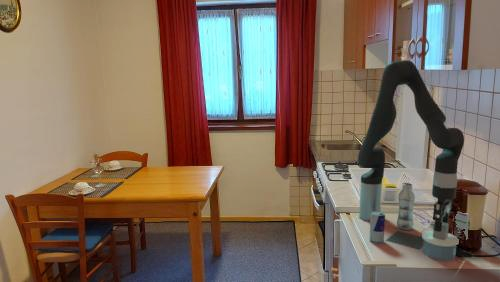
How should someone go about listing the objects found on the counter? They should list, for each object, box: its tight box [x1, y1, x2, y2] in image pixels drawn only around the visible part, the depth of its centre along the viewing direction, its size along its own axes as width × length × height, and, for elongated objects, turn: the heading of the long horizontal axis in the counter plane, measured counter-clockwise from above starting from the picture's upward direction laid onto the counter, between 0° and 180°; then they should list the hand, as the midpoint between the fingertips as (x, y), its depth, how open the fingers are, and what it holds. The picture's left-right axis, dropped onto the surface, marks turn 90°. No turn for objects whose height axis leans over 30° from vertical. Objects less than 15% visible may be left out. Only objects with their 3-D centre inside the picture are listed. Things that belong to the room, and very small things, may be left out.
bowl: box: [422, 240, 457, 262], centre depth 139 cm, size 10×10×6 cm
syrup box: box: [455, 212, 470, 240], centre depth 146 cm, size 6×6×14 cm
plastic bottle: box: [396, 182, 416, 231], centre depth 162 cm, size 6×7×20 cm
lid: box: [421, 222, 459, 247], centre depth 138 cm, size 12×12×6 cm
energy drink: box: [368, 210, 386, 245], centre depth 150 cm, size 5×5×12 cm
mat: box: [385, 230, 424, 250], centre depth 152 cm, size 13×13×1 cm
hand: (441, 227), depth 138 cm, fingers open, 8 cm apart
